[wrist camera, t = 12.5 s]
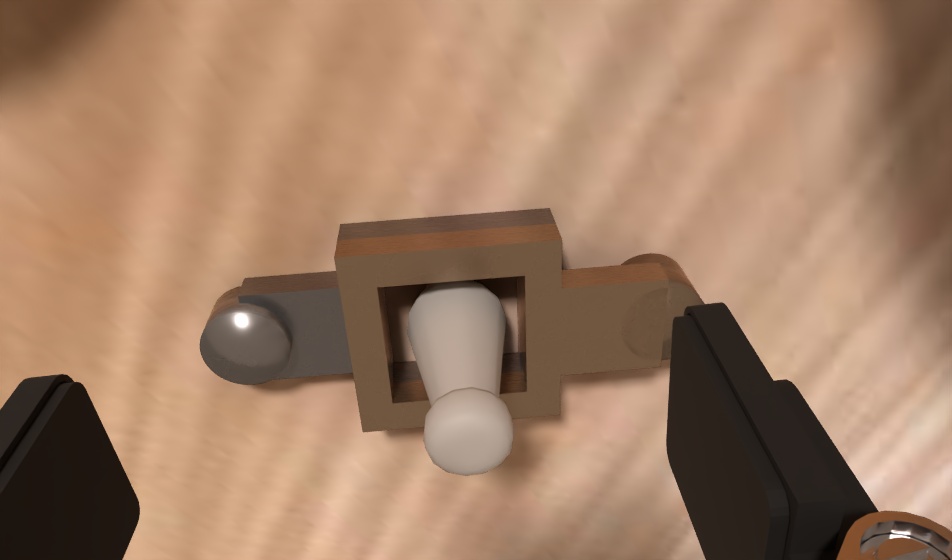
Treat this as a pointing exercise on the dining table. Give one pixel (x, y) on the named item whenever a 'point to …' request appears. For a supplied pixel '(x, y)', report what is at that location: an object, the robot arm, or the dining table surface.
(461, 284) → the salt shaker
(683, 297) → the upper end link
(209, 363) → the lower end link
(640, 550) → the dining table surface
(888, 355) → the dining table surface
